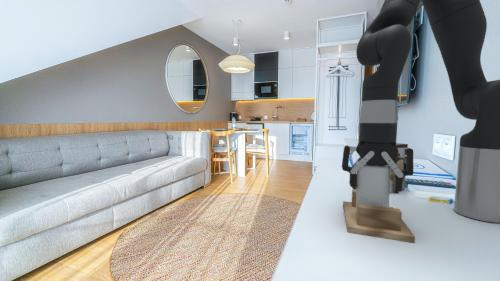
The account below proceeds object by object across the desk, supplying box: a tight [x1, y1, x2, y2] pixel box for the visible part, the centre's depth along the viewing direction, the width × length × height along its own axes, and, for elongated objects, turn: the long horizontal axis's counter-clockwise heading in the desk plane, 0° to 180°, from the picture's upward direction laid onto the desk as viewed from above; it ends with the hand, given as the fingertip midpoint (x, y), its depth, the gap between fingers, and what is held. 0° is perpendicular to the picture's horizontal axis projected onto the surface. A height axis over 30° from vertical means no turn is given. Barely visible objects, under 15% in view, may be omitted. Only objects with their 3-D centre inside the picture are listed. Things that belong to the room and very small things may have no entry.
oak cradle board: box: [342, 189, 416, 244], centre depth 52 cm, size 12×16×5 cm
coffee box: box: [385, 142, 409, 194], centre depth 76 cm, size 9×6×16 cm
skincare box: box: [356, 164, 390, 213], centre depth 52 cm, size 6×4×12 cm
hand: (373, 190), depth 52 cm, fingers open, 8 cm apart
